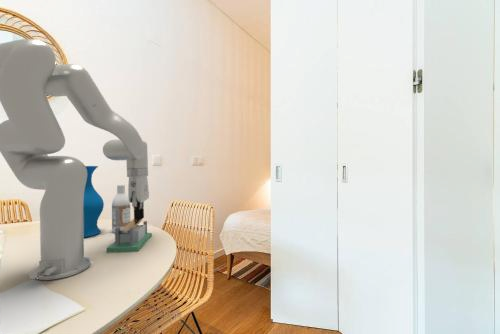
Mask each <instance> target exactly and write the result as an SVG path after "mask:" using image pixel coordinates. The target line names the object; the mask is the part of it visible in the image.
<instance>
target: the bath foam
mask: <svg viewBox="0 0 500 334" xmlns="http://www.w3.org/2000/svg"><path fill="white" fill-rule="evenodd" d="M116 191H117V192H116V195H115V196H114V198H113V199H112V202H111V232H112V233H114V234H115V229H116V228H118V227H120V229H122V228H123V227H125V226H126V225H127V224H129V223H130V222H131V203H130V202H129V197H128V195H127V194H126V185H125V184H117V187H116Z"/></svg>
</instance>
